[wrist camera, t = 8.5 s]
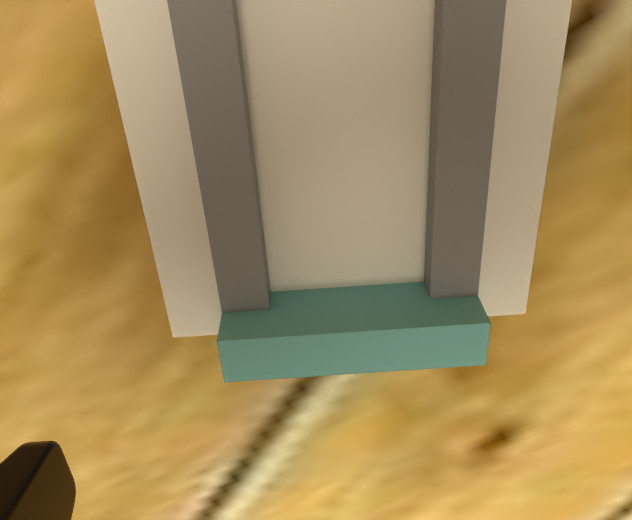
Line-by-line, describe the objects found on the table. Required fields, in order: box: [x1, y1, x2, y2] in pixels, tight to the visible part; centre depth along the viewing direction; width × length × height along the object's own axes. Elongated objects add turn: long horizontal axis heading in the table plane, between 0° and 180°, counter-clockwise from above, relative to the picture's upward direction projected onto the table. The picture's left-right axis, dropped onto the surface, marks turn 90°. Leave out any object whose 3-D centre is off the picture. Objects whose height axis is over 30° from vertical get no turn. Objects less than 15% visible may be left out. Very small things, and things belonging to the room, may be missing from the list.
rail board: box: [94, 0, 572, 382], centre depth 15 cm, size 12×18×4 cm, turn 4°
